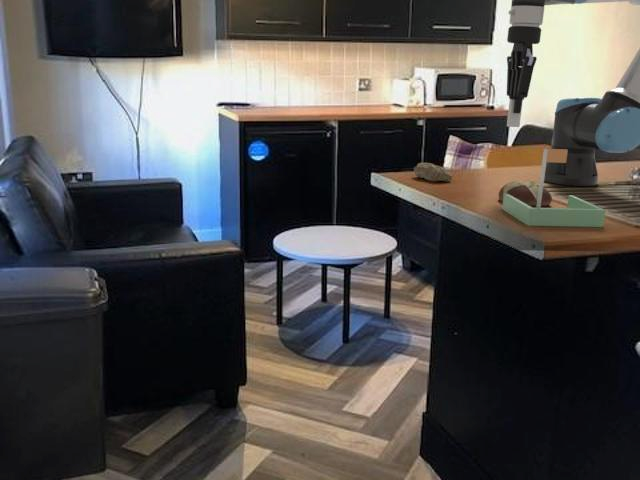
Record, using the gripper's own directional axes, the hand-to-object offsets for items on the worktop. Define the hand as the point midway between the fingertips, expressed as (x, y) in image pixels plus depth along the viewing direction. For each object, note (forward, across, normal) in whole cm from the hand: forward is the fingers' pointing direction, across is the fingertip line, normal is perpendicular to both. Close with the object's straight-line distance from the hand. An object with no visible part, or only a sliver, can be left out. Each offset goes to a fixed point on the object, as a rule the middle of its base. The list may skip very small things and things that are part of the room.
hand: (512, 126), depth 167 cm
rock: (+17, -17, -14) cm, 28 cm away
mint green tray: (+17, +27, 0) cm, 32 cm away
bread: (+17, +12, 0) cm, 21 cm away
